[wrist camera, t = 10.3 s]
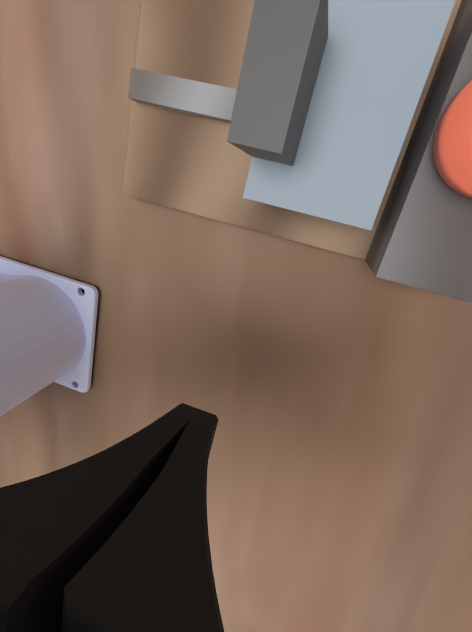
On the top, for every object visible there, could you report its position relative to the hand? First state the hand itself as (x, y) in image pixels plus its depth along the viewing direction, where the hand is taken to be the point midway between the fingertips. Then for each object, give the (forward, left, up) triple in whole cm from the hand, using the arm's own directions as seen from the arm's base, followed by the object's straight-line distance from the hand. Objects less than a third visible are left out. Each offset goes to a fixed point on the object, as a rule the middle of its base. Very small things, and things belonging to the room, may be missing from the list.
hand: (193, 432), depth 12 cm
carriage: (+1, +11, -7) cm, 13 cm away
